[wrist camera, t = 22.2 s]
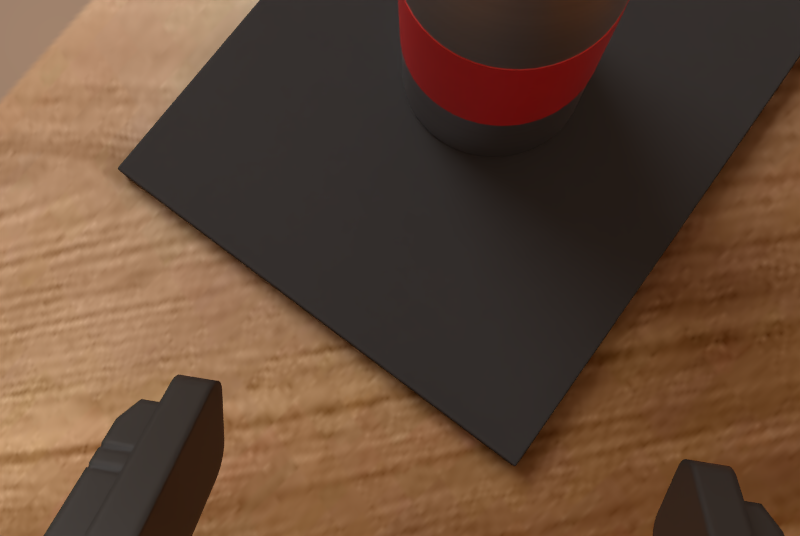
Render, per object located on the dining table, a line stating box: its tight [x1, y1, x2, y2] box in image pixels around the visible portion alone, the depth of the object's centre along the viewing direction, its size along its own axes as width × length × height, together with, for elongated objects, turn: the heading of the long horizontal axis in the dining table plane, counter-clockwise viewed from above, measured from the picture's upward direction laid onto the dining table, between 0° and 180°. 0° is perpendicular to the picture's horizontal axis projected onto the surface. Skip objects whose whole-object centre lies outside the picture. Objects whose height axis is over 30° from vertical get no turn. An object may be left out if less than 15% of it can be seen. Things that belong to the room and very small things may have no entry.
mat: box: [118, 0, 800, 466], centre depth 26 cm, size 20×16×1 cm
